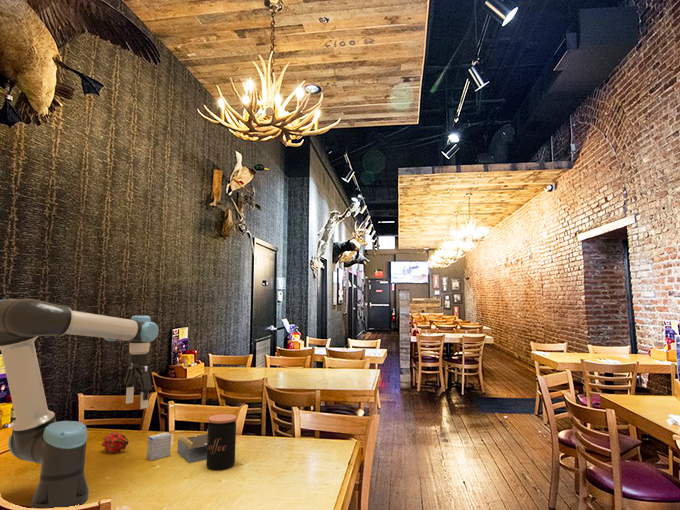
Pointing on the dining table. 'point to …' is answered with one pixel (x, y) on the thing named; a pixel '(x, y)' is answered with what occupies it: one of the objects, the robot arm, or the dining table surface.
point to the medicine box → (158, 446)
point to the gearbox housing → (193, 447)
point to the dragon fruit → (115, 442)
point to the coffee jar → (221, 441)
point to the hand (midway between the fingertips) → (136, 405)
